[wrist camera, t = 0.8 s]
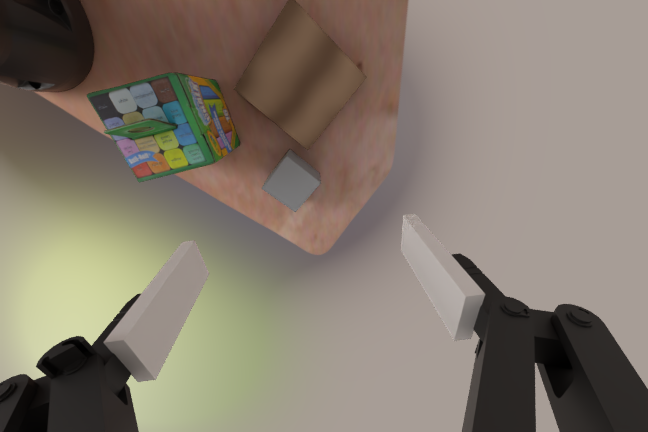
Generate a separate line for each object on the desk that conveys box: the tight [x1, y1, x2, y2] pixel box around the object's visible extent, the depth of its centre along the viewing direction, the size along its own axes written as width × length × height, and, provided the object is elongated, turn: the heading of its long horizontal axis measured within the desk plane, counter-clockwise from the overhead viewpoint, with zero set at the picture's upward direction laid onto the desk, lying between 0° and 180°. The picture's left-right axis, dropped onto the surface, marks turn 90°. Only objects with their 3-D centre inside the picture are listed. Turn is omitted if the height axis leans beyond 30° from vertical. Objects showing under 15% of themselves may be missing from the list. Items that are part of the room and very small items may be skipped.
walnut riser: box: [234, 0, 366, 150], centre depth 31 cm, size 12×12×2 cm
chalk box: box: [87, 73, 240, 182], centre depth 28 cm, size 9×9×15 cm
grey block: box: [262, 149, 321, 212], centre depth 36 cm, size 6×6×5 cm
